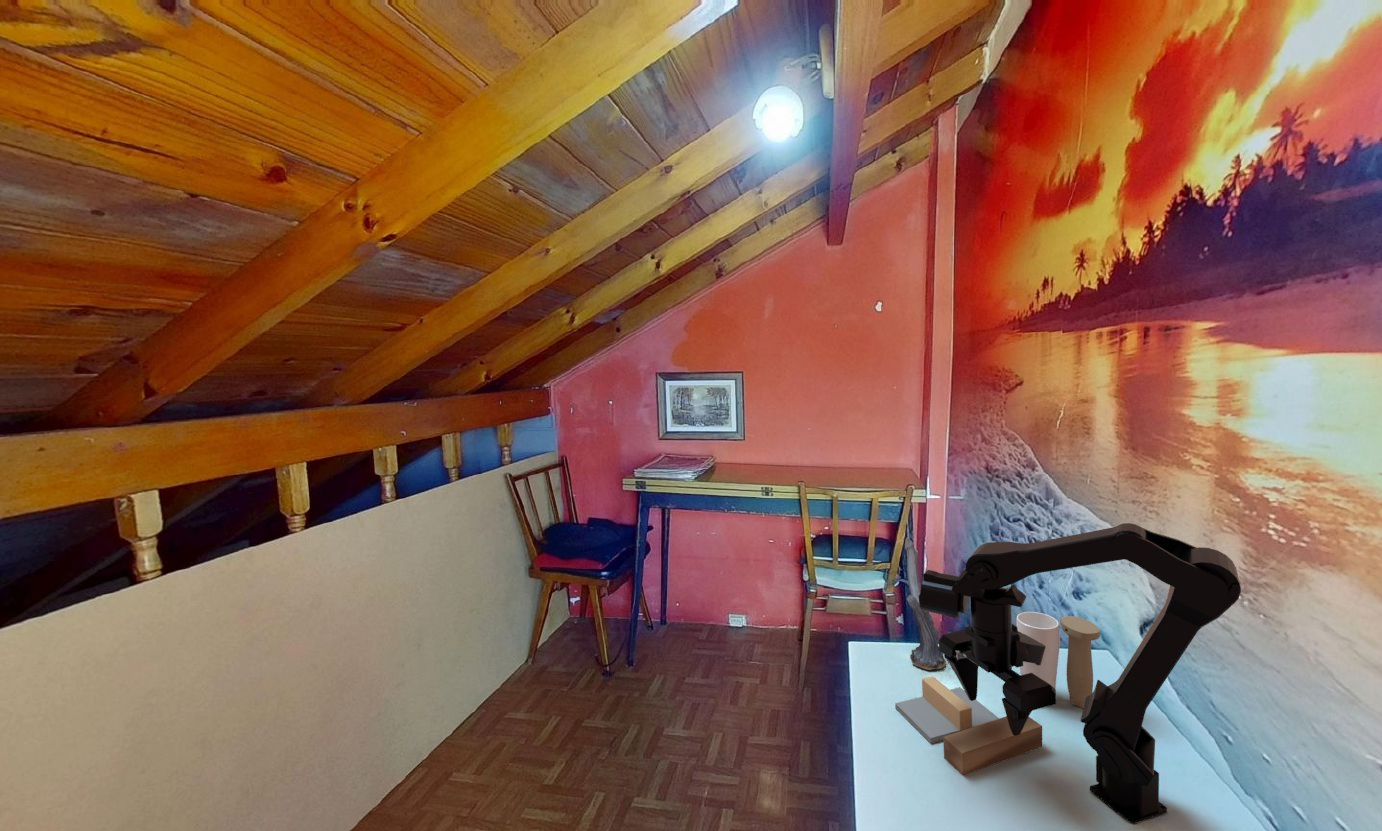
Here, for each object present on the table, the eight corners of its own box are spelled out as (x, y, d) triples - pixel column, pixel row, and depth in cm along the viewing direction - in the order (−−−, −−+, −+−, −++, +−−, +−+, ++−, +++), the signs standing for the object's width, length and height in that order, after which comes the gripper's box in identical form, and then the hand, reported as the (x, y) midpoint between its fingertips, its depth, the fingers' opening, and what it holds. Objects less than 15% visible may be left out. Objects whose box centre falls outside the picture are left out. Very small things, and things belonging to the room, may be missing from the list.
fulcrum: (1000, 724, 97) (1000, 700, 97) (930, 743, 94) (929, 718, 93) (960, 692, 107) (959, 669, 106) (895, 708, 104) (894, 685, 103)
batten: (1042, 748, 91) (1042, 725, 91) (962, 776, 87) (962, 753, 86) (1021, 733, 95) (1021, 711, 95) (944, 759, 90) (943, 736, 90)
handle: (1079, 691, 104) (1079, 614, 103) (1106, 713, 98) (1106, 632, 96) (1054, 693, 104) (1053, 617, 102) (1079, 715, 98) (1079, 634, 96)
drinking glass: (1058, 712, 99) (1058, 632, 97) (1014, 700, 103) (1013, 623, 101) (1061, 692, 104) (1061, 616, 103) (1019, 681, 108) (1018, 608, 107)
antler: (951, 670, 114) (948, 552, 111) (912, 673, 114) (908, 555, 111) (929, 641, 125) (925, 534, 122) (894, 643, 125) (889, 536, 123)
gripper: (1086, 642, 81) (1087, 742, 83) (989, 592, 99) (991, 675, 101) (1022, 658, 79) (1024, 760, 80) (935, 603, 97) (938, 688, 98)
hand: (993, 716), depth 90 cm, fingers open, 9 cm apart
